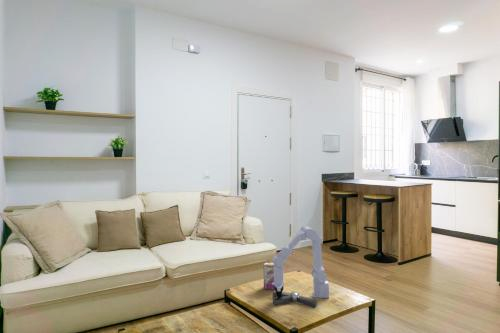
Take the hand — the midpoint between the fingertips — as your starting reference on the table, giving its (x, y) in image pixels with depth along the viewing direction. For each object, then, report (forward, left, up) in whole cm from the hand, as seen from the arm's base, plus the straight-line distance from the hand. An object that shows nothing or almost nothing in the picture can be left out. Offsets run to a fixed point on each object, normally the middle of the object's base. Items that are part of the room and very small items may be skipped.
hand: (279, 298), depth 199 cm
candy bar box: (+6, -18, -2) cm, 19 cm away
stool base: (-9, +2, -1) cm, 10 cm away
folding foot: (-1, -4, -1) cm, 4 cm away
